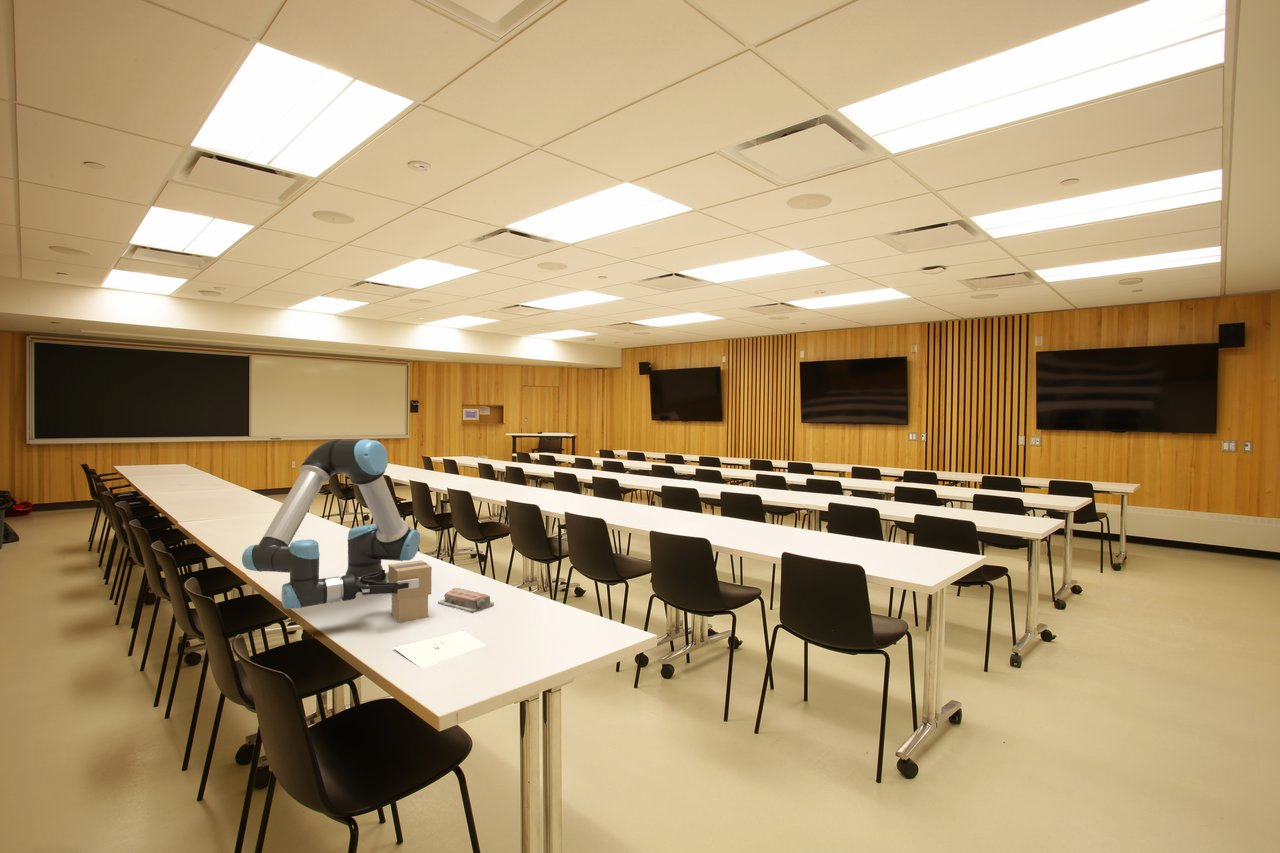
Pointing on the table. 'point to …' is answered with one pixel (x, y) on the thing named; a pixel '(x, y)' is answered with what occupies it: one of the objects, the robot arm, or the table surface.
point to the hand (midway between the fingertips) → (412, 578)
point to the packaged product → (466, 600)
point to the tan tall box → (410, 608)
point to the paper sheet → (439, 648)
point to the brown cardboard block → (411, 572)
